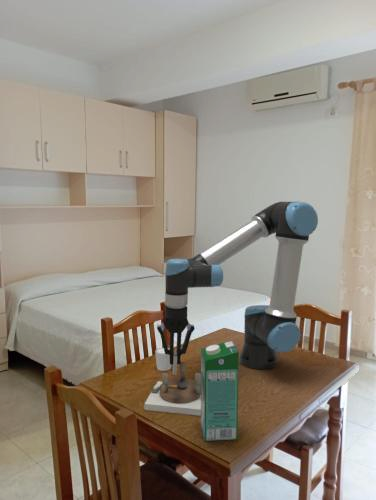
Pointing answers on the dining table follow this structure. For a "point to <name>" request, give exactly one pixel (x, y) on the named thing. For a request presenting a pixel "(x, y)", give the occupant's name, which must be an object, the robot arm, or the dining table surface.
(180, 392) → the cam capstan
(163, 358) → the white tapered cup
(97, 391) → the dining table surface
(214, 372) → the milk carton
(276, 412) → the dining table surface
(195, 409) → the stand
